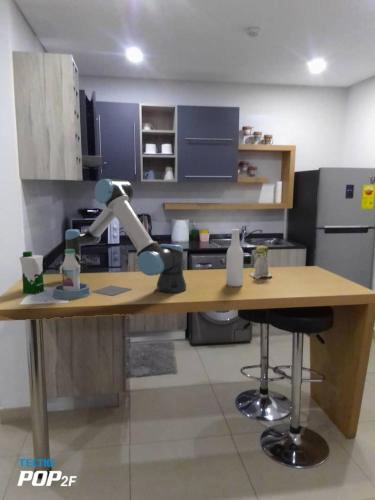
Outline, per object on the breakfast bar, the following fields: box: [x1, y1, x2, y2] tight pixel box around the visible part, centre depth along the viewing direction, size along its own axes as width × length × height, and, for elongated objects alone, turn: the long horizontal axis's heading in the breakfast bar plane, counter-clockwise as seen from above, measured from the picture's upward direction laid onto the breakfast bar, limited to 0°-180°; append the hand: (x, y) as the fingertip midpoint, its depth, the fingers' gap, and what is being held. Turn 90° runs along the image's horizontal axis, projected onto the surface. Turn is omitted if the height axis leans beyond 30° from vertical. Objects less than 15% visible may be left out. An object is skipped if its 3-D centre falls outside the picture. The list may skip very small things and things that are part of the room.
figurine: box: [249, 245, 273, 280], centre depth 211 cm, size 12×13×18 cm
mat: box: [91, 285, 132, 297], centre depth 181 cm, size 14×14×1 cm
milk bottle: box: [61, 248, 80, 291], centre depth 172 cm, size 8×8×20 cm
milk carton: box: [19, 251, 45, 295], centre depth 176 cm, size 9×9×20 cm
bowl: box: [52, 282, 92, 301], centre depth 174 cm, size 18×18×4 cm
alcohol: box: [225, 228, 244, 287], centre depth 191 cm, size 9×9×30 cm
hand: (69, 270), depth 167 cm, fingers closed on milk bottle, 7 cm apart
